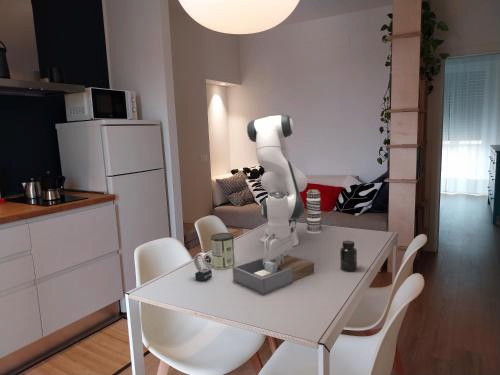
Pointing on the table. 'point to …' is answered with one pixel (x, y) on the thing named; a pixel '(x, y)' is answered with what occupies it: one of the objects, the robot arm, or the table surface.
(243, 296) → the table surface
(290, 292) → the table surface
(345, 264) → the supplement bottle
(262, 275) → the cream tile
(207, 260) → the watch
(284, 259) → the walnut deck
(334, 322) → the table surface
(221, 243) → the coffee can
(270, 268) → the pale blue brick
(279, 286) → the box
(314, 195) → the decorative candle
